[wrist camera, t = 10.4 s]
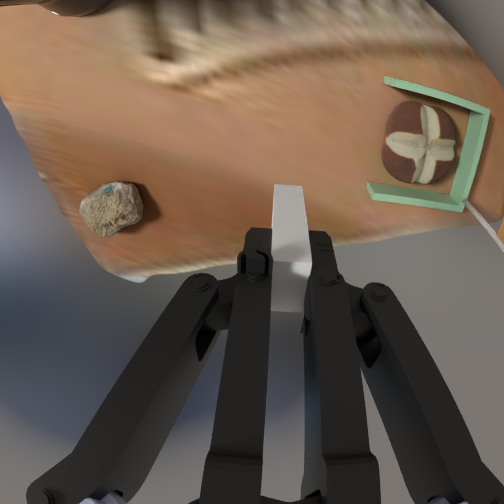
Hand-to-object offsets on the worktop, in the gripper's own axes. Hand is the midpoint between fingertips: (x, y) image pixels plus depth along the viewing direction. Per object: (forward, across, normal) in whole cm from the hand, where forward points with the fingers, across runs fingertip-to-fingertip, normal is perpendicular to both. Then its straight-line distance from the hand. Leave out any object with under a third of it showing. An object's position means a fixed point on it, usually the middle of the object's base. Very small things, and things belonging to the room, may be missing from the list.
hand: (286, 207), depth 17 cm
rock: (+24, -25, -13) cm, 37 cm away
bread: (+24, +19, -1) cm, 30 cm away
